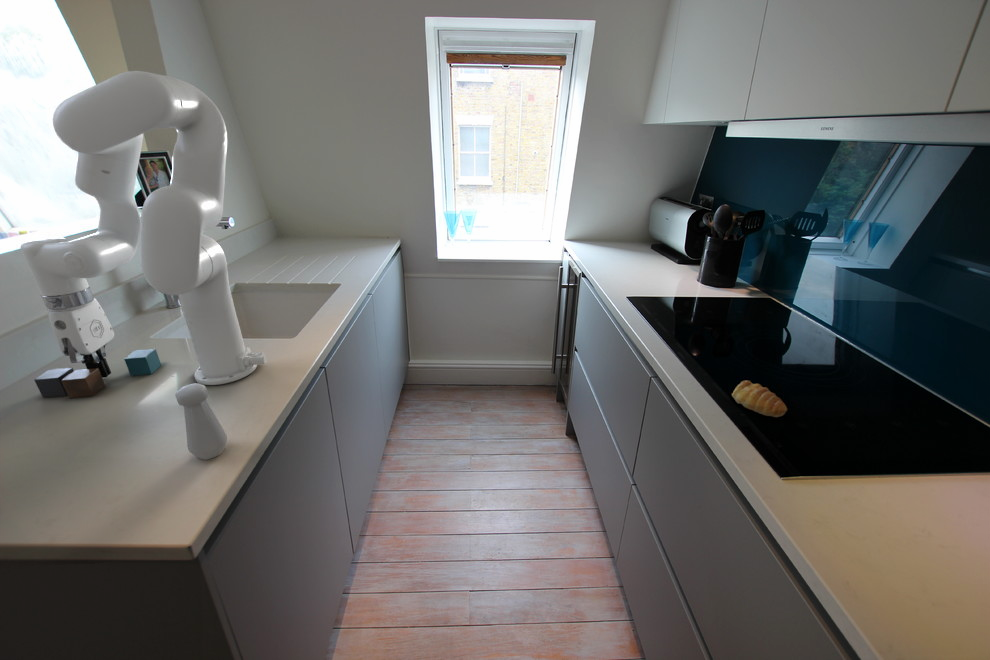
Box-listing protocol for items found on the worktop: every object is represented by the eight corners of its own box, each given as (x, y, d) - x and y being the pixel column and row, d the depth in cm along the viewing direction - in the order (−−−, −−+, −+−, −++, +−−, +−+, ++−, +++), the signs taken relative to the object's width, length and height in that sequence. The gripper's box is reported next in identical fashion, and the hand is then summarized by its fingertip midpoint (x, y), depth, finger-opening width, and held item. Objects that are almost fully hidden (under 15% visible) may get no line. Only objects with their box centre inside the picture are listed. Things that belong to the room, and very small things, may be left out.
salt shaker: (212, 465, 74) (189, 399, 68) (183, 461, 75) (158, 395, 69) (237, 443, 79) (218, 380, 74) (210, 439, 80) (189, 377, 75)
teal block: (161, 365, 106) (155, 348, 104) (151, 374, 102) (145, 357, 100) (141, 366, 105) (135, 350, 103) (130, 375, 101) (123, 358, 99)
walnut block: (105, 385, 97) (98, 368, 96) (92, 396, 93) (84, 378, 92) (83, 387, 97) (75, 369, 95) (69, 398, 93) (60, 380, 91)
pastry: (792, 412, 87) (797, 396, 85) (772, 423, 84) (778, 406, 82) (746, 390, 94) (750, 375, 92) (726, 400, 91) (730, 384, 89)
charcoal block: (80, 385, 98) (72, 367, 96) (66, 395, 94) (57, 377, 92) (58, 386, 97) (49, 369, 95) (42, 397, 93) (33, 379, 91)
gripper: (64, 310, 85) (99, 392, 93) (111, 286, 99) (138, 359, 106) (19, 313, 84) (58, 395, 92) (73, 288, 98) (103, 361, 105)
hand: (101, 375), depth 99 cm, fingers closed
